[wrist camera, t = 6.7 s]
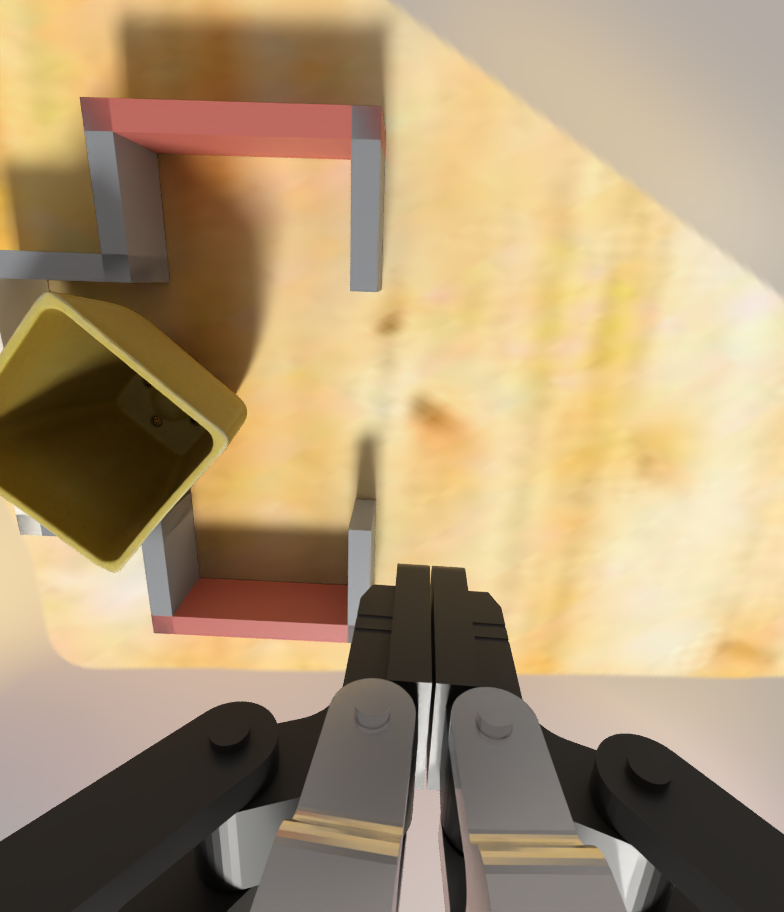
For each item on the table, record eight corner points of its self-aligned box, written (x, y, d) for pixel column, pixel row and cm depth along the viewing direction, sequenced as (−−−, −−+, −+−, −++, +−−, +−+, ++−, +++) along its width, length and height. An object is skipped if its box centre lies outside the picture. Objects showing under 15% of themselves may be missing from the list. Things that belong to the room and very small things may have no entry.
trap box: (-5, 120, 25) (-78, 92, 21) (385, 132, 25) (381, 106, 21) (82, 588, 34) (40, 627, 30) (373, 602, 33) (368, 643, 30)
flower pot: (156, 282, 27) (42, 284, 19) (283, 393, 29) (231, 441, 21) (70, 400, 30) (-67, 450, 21) (193, 497, 31) (112, 579, 23)
